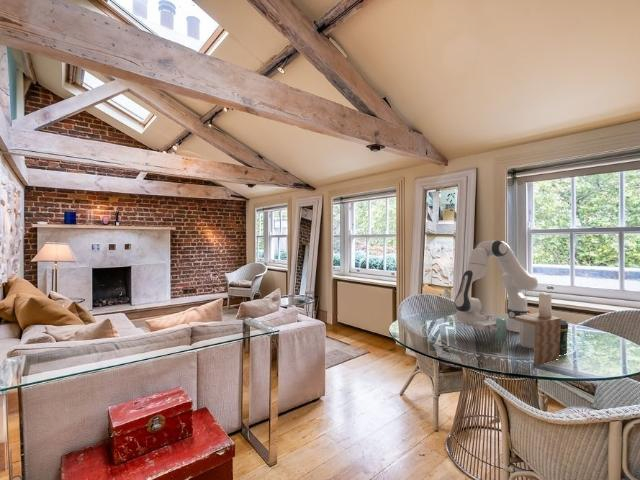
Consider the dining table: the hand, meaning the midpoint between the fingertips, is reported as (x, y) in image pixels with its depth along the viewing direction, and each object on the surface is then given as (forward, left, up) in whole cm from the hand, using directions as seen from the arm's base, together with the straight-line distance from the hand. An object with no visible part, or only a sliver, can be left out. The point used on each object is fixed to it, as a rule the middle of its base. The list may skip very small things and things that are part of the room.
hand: (502, 328), depth 182 cm
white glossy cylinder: (-7, +18, +11) cm, 23 cm away
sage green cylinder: (0, -1, -7) cm, 7 cm away
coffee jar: (-20, +18, -11) cm, 30 cm away
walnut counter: (-2, +17, -11) cm, 21 cm away
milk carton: (-17, +4, -11) cm, 21 cm away
